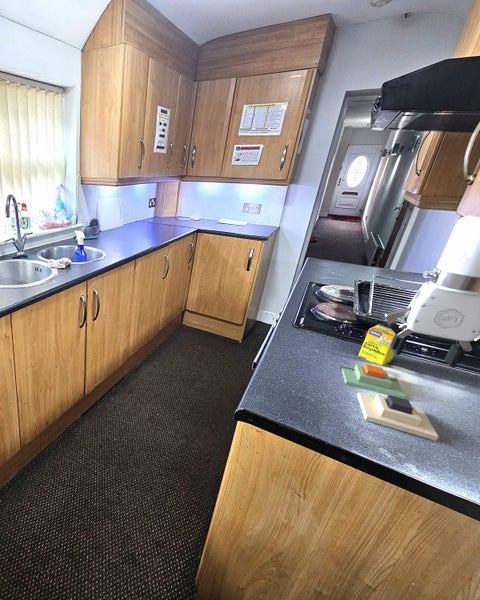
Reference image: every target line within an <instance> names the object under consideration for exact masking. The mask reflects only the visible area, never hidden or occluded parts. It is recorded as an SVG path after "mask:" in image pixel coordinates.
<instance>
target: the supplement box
mask: <svg viewBox="0 0 480 600" xmlns="http://www.w3.org/2000/svg"><path fill="white" fill-rule="evenodd" d="M394 336H395V333H394V331H393V330H392V329H391V328H390V327H387V326H385V325H382V324H381V323H380V324H377V325H375V326H372V327H370V328H369V329H368V331H367V334H366V335H365V339H364V340H363V342H362V346H361V348H360V350H359V353H358V355H357V356H358V357H359V358H362V359H364V360H366V361H369V362H371V363H373V364H375V365H378V366H380V367H382V366H384V365H387V364H389V363H391V362H392V361H393V358H394V356H395V354H394V352H393V350H392V349H391V347H390V345H391V343H392V340H393V338H394Z"/></svg>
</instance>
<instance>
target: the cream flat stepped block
mask: <svg viewBox="0 0 480 600" xmlns="http://www.w3.org/2000/svg"><path fill="white" fill-rule="evenodd" d="M387 396H388V395H384V394H381V393H376V395H371V394H367V393H365V392H361V391H359V392H357V400H358V403H359V405H360V408H361V409H360V410H361V411H362V415H363V417H364V418H363V419H364V421H367V422H371V423H373V424H378V425H381V426H383V427H387V428H391V429H394V430H398V431H401V432H405V433H408V434H412V435H415V436H417V437H421V438H425V439H428V440H431V441H434V442H437V441H438V439H439V435H438V433H437V432H436V430H435V428H434V426H433V424H432V423H431V421H430V420H429V418H428V417H427V414H426V413H425V411H424V409H423V408H419V407H416V406H415V405H414V404H413V402H410V404H411V406H412V407H413V411H412V413H411V414H407V413H404V412H400V411H397V410H393V409H389V407H388V405H387V403H386V399H387Z"/></svg>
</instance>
